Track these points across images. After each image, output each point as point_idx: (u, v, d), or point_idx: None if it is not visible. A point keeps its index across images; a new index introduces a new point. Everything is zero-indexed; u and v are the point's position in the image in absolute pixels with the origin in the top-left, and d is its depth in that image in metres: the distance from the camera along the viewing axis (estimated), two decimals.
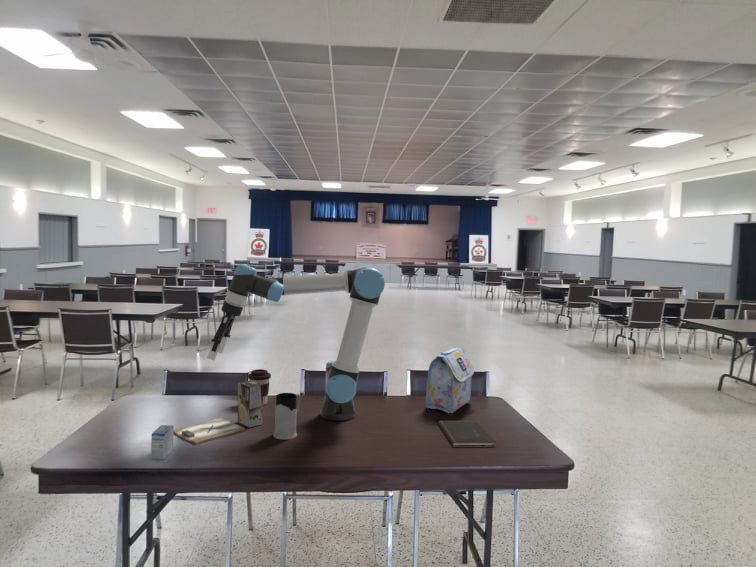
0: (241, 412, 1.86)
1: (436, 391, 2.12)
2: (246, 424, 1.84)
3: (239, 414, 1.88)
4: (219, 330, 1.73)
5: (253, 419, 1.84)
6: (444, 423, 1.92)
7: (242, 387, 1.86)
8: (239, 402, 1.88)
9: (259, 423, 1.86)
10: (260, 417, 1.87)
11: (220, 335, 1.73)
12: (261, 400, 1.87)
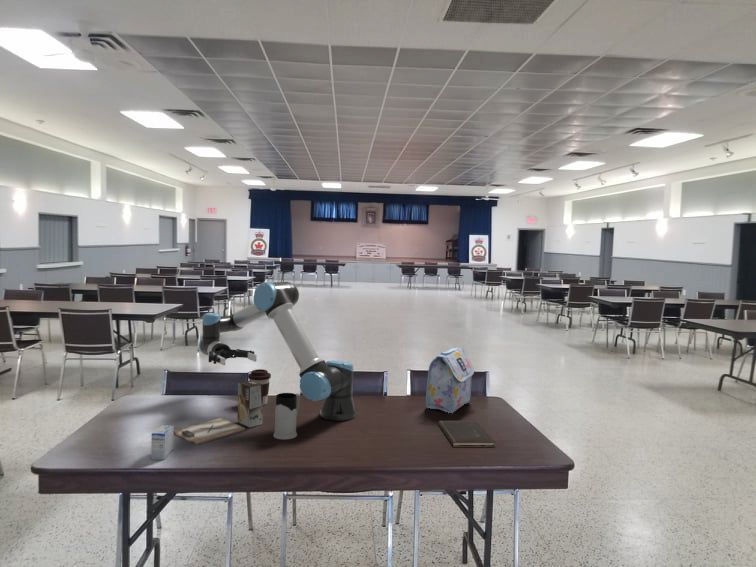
0: (241, 412, 1.86)
1: (436, 391, 2.12)
2: (246, 424, 1.84)
3: (239, 414, 1.88)
4: None
5: (253, 419, 1.84)
6: (444, 423, 1.92)
7: (242, 387, 1.86)
8: (239, 402, 1.88)
9: (259, 423, 1.86)
10: (260, 417, 1.87)
11: (209, 356, 1.96)
12: (261, 400, 1.87)
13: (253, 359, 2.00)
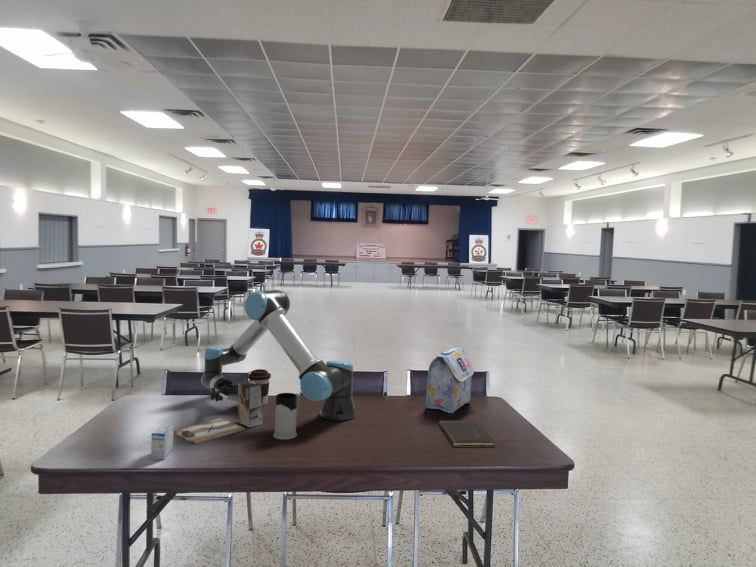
0: (241, 412, 1.86)
1: (436, 391, 2.12)
2: (246, 424, 1.84)
3: (239, 414, 1.88)
4: None
5: (253, 419, 1.84)
6: (444, 423, 1.92)
7: (242, 387, 1.86)
8: (239, 402, 1.88)
9: (259, 423, 1.86)
10: (260, 417, 1.87)
11: (211, 393, 1.94)
12: (261, 400, 1.87)
13: None
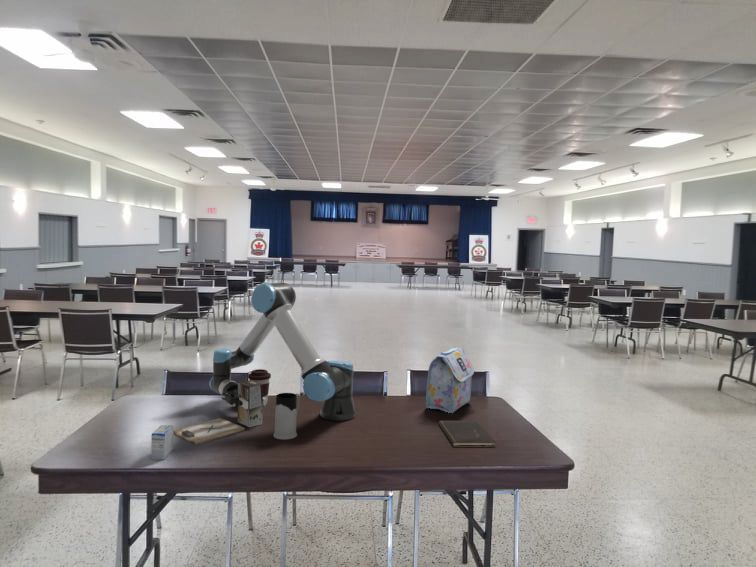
0: (241, 412, 1.86)
1: (436, 391, 2.12)
2: (246, 424, 1.84)
3: (239, 414, 1.88)
4: (227, 400, 1.89)
5: (253, 419, 1.84)
6: (444, 423, 1.92)
7: (242, 387, 1.86)
8: None
9: (259, 423, 1.86)
10: (260, 417, 1.87)
11: (228, 398, 1.87)
12: (261, 400, 1.87)
13: None
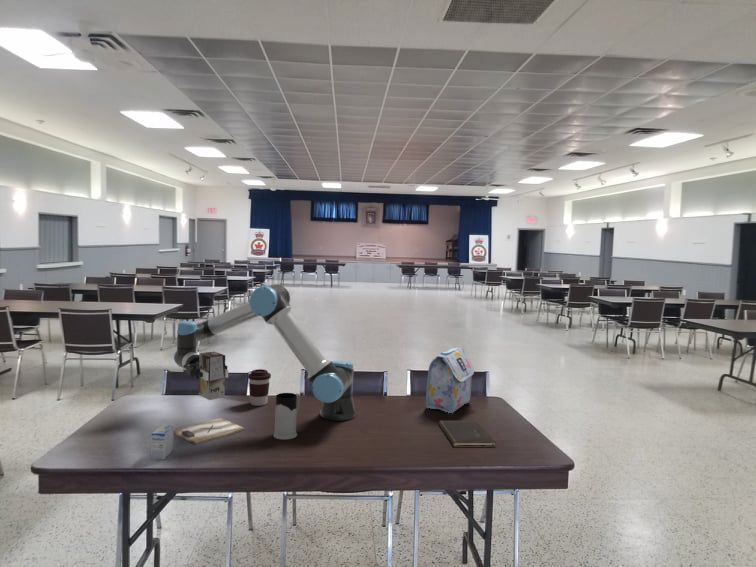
0: (202, 384, 1.76)
1: (436, 391, 2.12)
2: (206, 397, 1.74)
3: (200, 387, 1.77)
4: (187, 372, 1.78)
5: (214, 392, 1.74)
6: (444, 423, 1.92)
7: (203, 358, 1.76)
8: None
9: (221, 396, 1.76)
10: (222, 390, 1.76)
11: (189, 370, 1.77)
12: (223, 372, 1.76)
13: (225, 375, 1.77)
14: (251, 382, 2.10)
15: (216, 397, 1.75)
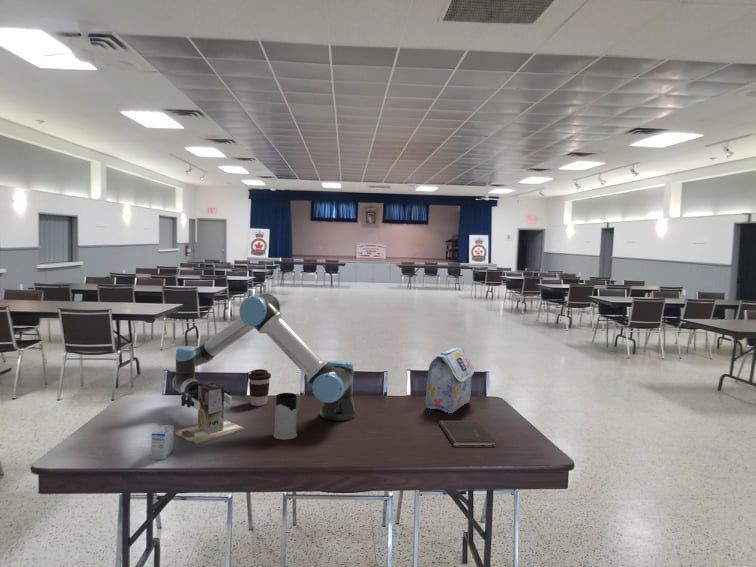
0: (201, 416, 1.76)
1: (436, 391, 2.12)
2: (205, 430, 1.74)
3: (199, 419, 1.78)
4: None
5: (213, 425, 1.74)
6: (444, 423, 1.92)
7: (202, 391, 1.76)
8: None
9: (220, 429, 1.76)
10: (221, 422, 1.76)
11: None
12: (222, 404, 1.76)
13: (228, 401, 1.79)
14: (251, 382, 2.10)
15: (215, 430, 1.75)
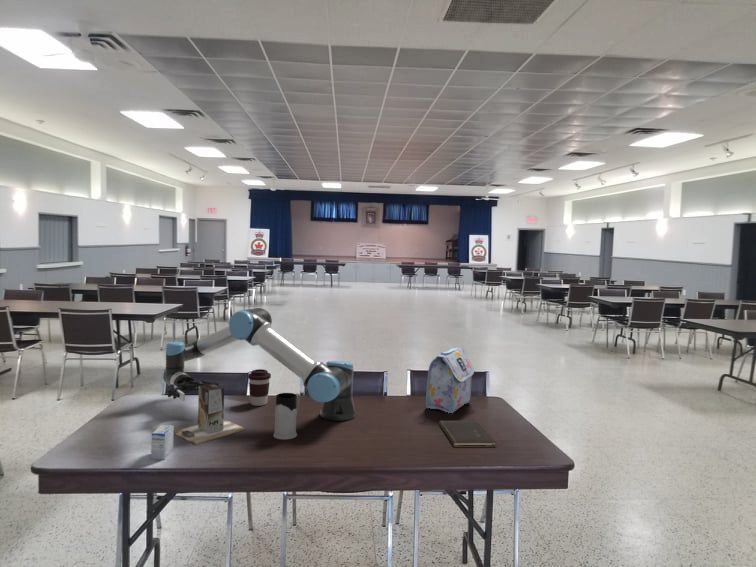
0: (201, 416, 1.76)
1: (436, 391, 2.12)
2: (205, 430, 1.74)
3: (199, 419, 1.78)
4: None
5: (213, 425, 1.74)
6: (444, 423, 1.92)
7: (202, 391, 1.76)
8: (199, 406, 1.78)
9: (220, 429, 1.76)
10: (221, 422, 1.76)
11: None
12: (222, 404, 1.76)
13: None
14: (251, 382, 2.10)
15: (215, 430, 1.75)
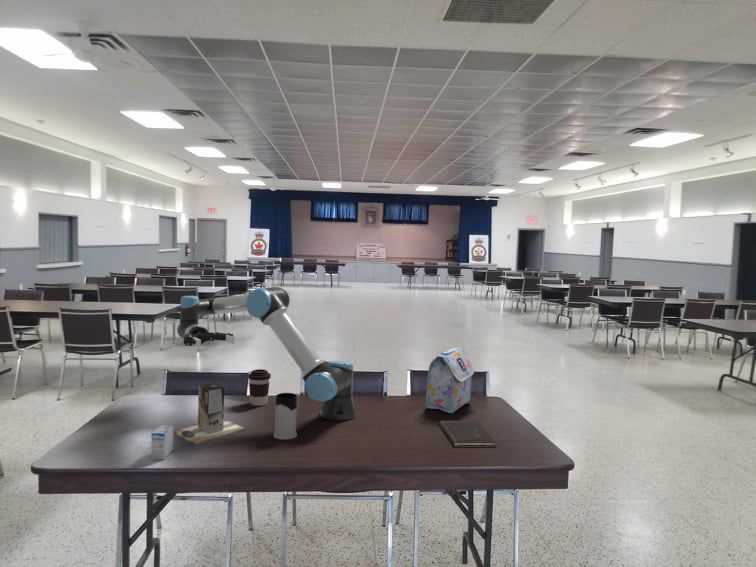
0: (201, 416, 1.76)
1: (436, 391, 2.12)
2: (205, 430, 1.74)
3: (199, 419, 1.78)
4: None
5: (213, 425, 1.74)
6: (444, 423, 1.92)
7: (202, 391, 1.76)
8: (199, 406, 1.78)
9: (220, 429, 1.76)
10: (221, 422, 1.76)
11: None
12: (222, 404, 1.76)
13: (231, 341, 1.92)
14: (251, 382, 2.10)
15: (215, 430, 1.75)
